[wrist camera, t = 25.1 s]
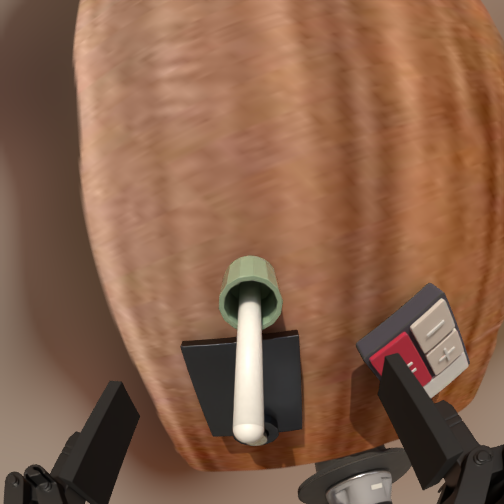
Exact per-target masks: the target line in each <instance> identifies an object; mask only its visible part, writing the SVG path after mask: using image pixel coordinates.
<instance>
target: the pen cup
mask: <svg viewBox="0 0 504 504" xmlns="http://www.w3.org/2000/svg"><path fill="white" fill-rule="evenodd" d="M252 280H254V281H257V282H259V283H260V290H261V323H262V330H263V329H265V328H267V327H269V326H271V325H272V324H274V322H275V321H276V320H277V318H278V317H279V316H280V314H281V310H282V304H283V299H282V295H281V291H280V287H279V283H278V279H277V276H276V273H275V271H274V269H273V267H272V266H271V264H270V263H269V262H267V261H266V260H264V259H263V258H260V257H257V256H244V257H241V258H238V259H237V260H235V261H234V262H232V263H231V264H230V266H229V267H228V268H227V270H226V273H225V275H224V279H223V283H222V288H221V292H220V297H219V310H220V312H221V314H222V316H223V318H224V320H225V321H226V322H227V323H229V324H230V325H231V326H232V327H234V328H235V329H237V328H238V310H239V291H240V283H241V282H243V281H252Z"/></svg>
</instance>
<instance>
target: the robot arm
mask: <svg viewBox="0 0 504 504" xmlns="http://www.w3.org/2000/svg"><path fill="white" fill-rule="evenodd" d="M378 396H379V398H380V400H381V402H382V404H383V406H384V408H385V410H386V412H387V414H388V416H389V418H390V420H391V422H392V424H393V426H394V428H395V431H396V433H397V435H398V437H399V439H400V441H401V443H402V445H403V447H404V449H405V452H406V454H407V456H408V458H409V460H410V462H411V465H412V467H413V469H414V471H415V473H416V476H417V478H418V480H419V483H420V484H421V487H422V490H425V489H427V488H429V487H432V486H433V485H436V484H438V483H439V482H440V480H441V479H442V478H444V479H445V483H444V484H443V485H442V486H441V488H440V489H439V490H438V493H440V492H441V491H442V492H441V494H440V497H439V500H438V502H437V504H504V445H500V446H497V447H493V448H490V447H488V446H485V445H480V444H479V443H478V442H477V441H476V439H475V438H474V437H473V435H472V433H471V432H470V431H469V429H468V427H467V426H466V425H465V423H464V422H463V421H462V419H461V417H460V416H459V415H458V413H457V412H456V410H455V409H454V407H453V406H452V405H451V404H449V403H448V402H446V401H444V400H442V401H440V402H438V403H435V404H434V403H433V401H432V400H431V398H430V397H429V395H428V394H427V392H426V391H425V389H424V388H423V386H422V385H421V384H420V382H419V381H418V379H417V378H416V376H415V375H414V374H413V372H412V371H411V369H410V368H409V367H408V365H407V364H406V362H405V361H404V360H403V358H402V357H401V356H400V354H399V353H395V354H391V355H387V356H385V358H384V364H383V370H382V376H381V381H380V386H379V391H378ZM139 418H140V415H139V414H138V412H137V410H136V408H135V406H134V404H133V403H132V401H131V399H130V397H129V395H128V393H127V391H126V389H125V387H124V385H123V383H122V382H118V381H110V382H109V383H108V385H107V387H106V389H105V390H104V392H103V394H102V395H101V397H100V399H99V401H98V402H97V404H96V406H95V408H94V409H93V411H92V413H91V415H90V417H89V418H88V420H87V422H86V424H85V426H84V428H83V429H82V431H81V433H80V432H75V433H74V434H73V435H72V436H70V438H69V439H68V441H67V442H66V444H65V447H64V448H63V450H62V453H61V454H60V455H59V457H58V459H57V461H56V463H55V465H54V467H53V469H52V471H51V473H50V474H49V473H48V472H47V471H46V470H45V469H44V468H42V467H41V466H40V465H37V464H36V465H31V466H29V467H28V468H27V469H26V470H25V472H24V477H23V476H22V475H21V474H20V473H18V472H11V473H10V474H8V476H7V477H6V480H5V490H4V504H85V501H87V502H89V503H90V504H108V503H109V500H110V497H111V494H112V491H113V488H114V485H115V482H116V480H117V477H118V474H119V471H120V468H121V466H122V463H123V460H124V457H125V455H126V452H127V449H128V446H129V444H130V441H131V439H132V436H133V433H134V430H135V428H136V425H137V423H138V420H139ZM391 487H392V477H391V473H390V470H389V469H386V468H376V469H370V470H366V471H362V472H359V473H356V474H353V475H351V476H348V477H346V478H343V479H341V480H339V481H337V482H336V483H334V484H332V485H331V486H330V487H328V488H327V489H326V491H325V495H326V499H327V501H328V503H329V504H392V501H391Z"/></svg>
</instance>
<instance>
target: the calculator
mask: <svg viewBox="0 0 504 504" xmlns="http://www.w3.org/2000/svg"><path fill="white" fill-rule="evenodd" d="M356 347H357V349H358V351H359V353H360V355H361V357H362V359H363V361H364V362H365V363H366V364H367V366H368V367H369V368H370V369H371V370H372V372H373V373H374V374H375V375H376V377H377V378H378V379H379V380H380V381H381V376H382V370H383V364H384V358H385V356H387V355H391V354H395V353H399V354H400V356H401V357H402V358H403V360H404V361H405V362H406V364H407V365H408V367H409V368H410V369H411V371H412V372H413V374H414V375H415V376H416V378H417V379H418V381H419V382H420V384H421V385H422V386H423V388H424V389H425V391H426V392H427V394H428V395H429V397H430V398H432V397H433V396H435V395H436V394H437V393H438V392H440V391H441V390H442V389H443V388H444V387H446V386H447V385H448V384H449V383H450V382H452V381H453V380H454V379H455V378H456V377H457V376H458V375H460V374H461V373H462V372H463V371H464V370H465V369H466V368H467V367H468V365H469V364H470V362H469V358H468V355H467V352H466V349H465V346H464V343H463V340H462V337H461V334H460V331H459V328H458V326H457V323H456V320H455V318H454V315H453V312H452V310H451V307H450V305H449V302H448V300H447V298H446V295H445V293H444V292H443V291H441V290H440V289H439V288H437V287H436V286H434V285H433V284H432V283H428V284H427V285H426V286H425V287H423V288H422V289H421V290H420V291H419V292H418V293H417V294H416V295H415V296H413V297H412V298H411V299H410V300H409V301H408V302H407V303H405V304H404V305H403V306H402V307H401V308H400V309H398V310H397V311H396V312H395V313H394V314H392V315H391V316H390V317H389V318H388V319H386V320H385V321H384V322H383V323H381V324H380V325H379V326H378V327H376V328H375V329H374V330H372V331H371V332H370V333H369V334H367V335H366V336H365V337H363V338H362V339H361V340H359V341H358V342H357V343H356Z"/></svg>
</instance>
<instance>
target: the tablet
mask: <svg viewBox="0 0 504 504" xmlns="http://www.w3.org/2000/svg"><path fill="white" fill-rule="evenodd" d="M180 347H181V350H182V354H183V357H184V360H185V363H186V366H187V369H188V372H189V375H190V378H191V380H192V383H193V386H194V389H195V392H196V394H197V397H198V400H199V403H200V405H201V408H202V411H203V413H204V416H205V418H206V421H207V423H208V426H209V428H210V431H211V433H212V435H213V436H233V437H234V439H235V440H236V441H238V442H240V443H241V444H245V445H248V444H246V443H243V442H241V441H239V440H238V439H237V438H236V437H235V436H234V433H233V411H234V389H235V368H236V348H237V337H231V338H220V339H208V340H193V341H182V344H181V346H180ZM262 358H263V397H264V429H265V430H266V431H267V442H266V443H265V444H268V443H270V442H273V441H274V440H275V439H276V438H277V437H278V436H279V432H285V431H293V430H300V429H302V394H301V367H300V346H299V334H298V330H291V331H284V332H277V333H269V334H262ZM265 444H263V445H265ZM250 446H252V445H250Z"/></svg>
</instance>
